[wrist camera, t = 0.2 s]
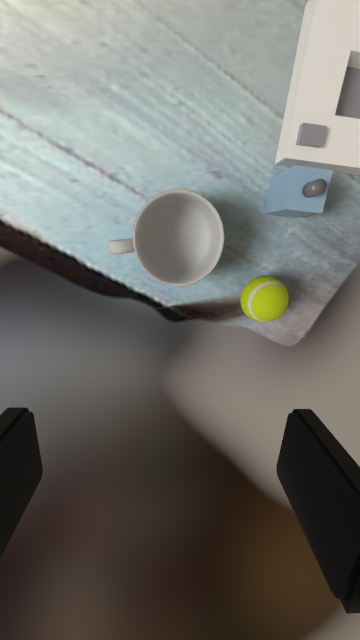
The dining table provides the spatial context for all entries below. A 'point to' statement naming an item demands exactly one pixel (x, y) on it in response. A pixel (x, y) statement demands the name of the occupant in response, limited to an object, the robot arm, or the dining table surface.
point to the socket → (325, 91)
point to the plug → (298, 192)
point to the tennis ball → (264, 299)
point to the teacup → (175, 237)
